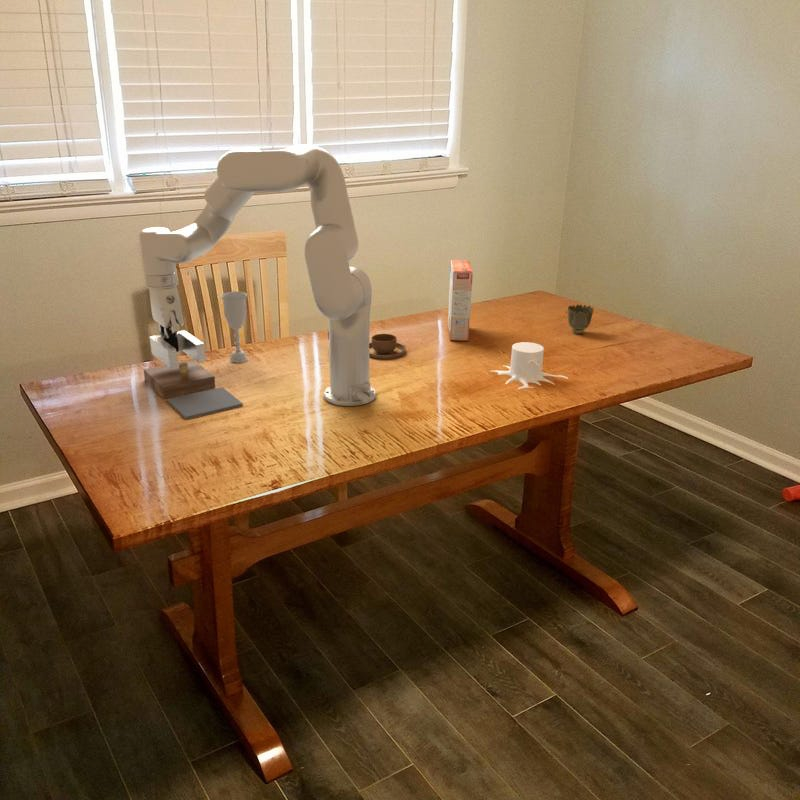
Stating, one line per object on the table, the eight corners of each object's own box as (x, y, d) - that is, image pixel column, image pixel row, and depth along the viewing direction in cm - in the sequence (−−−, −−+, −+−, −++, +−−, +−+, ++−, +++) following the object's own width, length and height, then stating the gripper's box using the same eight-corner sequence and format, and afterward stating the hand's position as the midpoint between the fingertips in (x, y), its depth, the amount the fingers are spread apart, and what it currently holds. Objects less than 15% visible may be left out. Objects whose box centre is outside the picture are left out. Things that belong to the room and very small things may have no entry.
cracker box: (469, 341, 232) (473, 271, 223) (449, 341, 232) (452, 270, 223) (466, 326, 245) (470, 259, 236) (447, 326, 245) (449, 259, 236)
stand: (215, 387, 198) (213, 362, 195) (164, 398, 191) (161, 373, 188) (194, 370, 208) (191, 346, 205) (144, 380, 201) (141, 356, 199)
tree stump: (501, 393, 198) (503, 362, 194) (480, 365, 215) (481, 337, 212) (577, 388, 201) (581, 358, 198) (550, 361, 219) (553, 333, 215)
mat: (242, 405, 188) (242, 403, 187) (185, 419, 180) (185, 416, 180) (222, 389, 197) (222, 386, 196) (167, 401, 189) (166, 399, 189)
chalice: (245, 365, 212) (241, 299, 205) (221, 363, 213) (216, 298, 206) (255, 356, 218) (251, 292, 211) (232, 354, 220) (227, 290, 212)
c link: (206, 360, 194) (204, 343, 192) (170, 368, 190) (167, 350, 188) (186, 346, 204) (184, 329, 202) (151, 353, 199) (149, 336, 198)
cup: (565, 328, 244) (567, 303, 241) (589, 329, 243) (592, 304, 240) (566, 336, 237) (568, 310, 234) (591, 337, 236) (594, 311, 233)
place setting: (383, 367, 213) (383, 347, 211) (324, 353, 223) (323, 333, 221) (418, 349, 227) (418, 329, 224) (360, 336, 236) (360, 317, 234)
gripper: (188, 283, 190) (196, 356, 197) (165, 271, 202) (173, 340, 209) (157, 288, 186) (167, 363, 193) (135, 275, 198) (145, 345, 205)
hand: (170, 350), depth 201 cm, fingers closed on c link, 2 cm apart
